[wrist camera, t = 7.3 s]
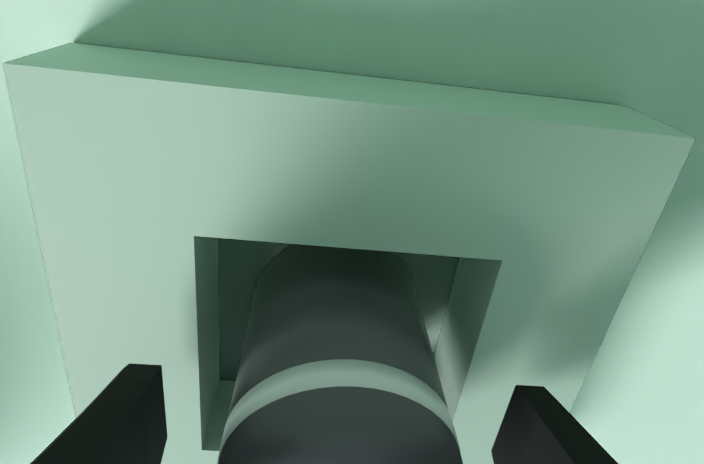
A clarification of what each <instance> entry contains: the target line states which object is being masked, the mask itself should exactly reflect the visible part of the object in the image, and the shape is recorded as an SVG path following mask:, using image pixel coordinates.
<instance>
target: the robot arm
mask: <svg viewBox="0 0 704 464" xmlns="http://www.w3.org/2000/svg"><path fill="white" fill-rule="evenodd" d="M166 441H167V425H166V413H165V401H164V389H163V377H162V365H149V364H131V363H129V364H128V365H127V366H125V367H124V368H123V369H122V370H121V371H120V372H119V373H118V374H117V376H116V377H115V378H114V379H113V380H112V381H111V382H110V383H109V384H108V385H107V386H106V387H105V388H104V390H103V391H102V392H101V393H100V394H99V395H98V396H97V397H96V398H95V399H94V400H93V401H92V402H91V403H90V404H89V405H88V406H87V408H86V409H85V410H84V411H83V412H82V413H81V414H80V415H79V416H78V417H77V418H76V419H75V420H74V421H73V422H72V423H71V424H70V425H69V426H68V427H67V428H66V429H65V430H64V431H63V432H62V433H61V434H60V435H59V436H58V437H57V438H56V439H55V440H54V441H53V442H52V443H51V444H50V445H49V446H48V447H47V448H46V449H45V450H44V451H43V452H42V453H41V454H40V455H39V456H38V457H37V458H36V459H35V460H34V461H33V462H31V463H30V464H161V461H162V457H163V453H164V449H165V445H166ZM491 452H492V457H493V462H494V464H618V463H617V462H616V461H615V460H614V459H613V458H612V457H611V456H610V455H609V454H608V453H607V452H606V451H605V450H604V449H603V448H602V446H601V445H600V444H599V443H598V442H597V441H596V440H595V439H594V438H593V437H592V436H591V435H590V434H589V433H588V432H587V431H586V430H585V429H584V428H583V427H582V426H581V424H580V423H579V422H578V421H577V420H576V419H575V418H574V417H573V416H572V415H571V414H570V413H569V412H568V411H567V410H566V409H565V408H564V407H563V406H562V405H561V403H560V402H559V401H558V400H557V399H556V398H555V397H554V396H553V395H552V394H551V393H550V392H549V391H548V390H547V389H546V388H545V387H544V386H527V385H516V386H515V388H514V391H513V394H512V396H511V399H510V402H509V404H508V407H507V410H506V412H505V415H504V418H503V420H502V423H501V426H500V428H499V431H498V434H497V436H496V439H495V442H494V444H493V447H492V450H491Z"/></svg>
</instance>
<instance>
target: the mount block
mask: <svg viewBox="0 0 704 464" xmlns="http://www.w3.org/2000/svg"><path fill="white" fill-rule="evenodd" d="M2 64H3V69H4V74H5V79H6V83H7V88H8V93H9V98H10V103H11V108H12V112H13V117H14V122H15V127H16V132H17V136H18V141H19V146H20V151H21V156H22V161H23V165H24V170H25V175H26V180H27V185H28V190H29V194H30V199H31V204H32V209H33V214H34V219H35V223H36V228H37V233H38V238H39V243H40V247H41V252H42V257H43V262H44V267H45V272H46V276H47V281H48V286H49V291H50V296H51V301H52V305H53V310H54V315H55V320H56V325H57V330H58V334H59V339H60V344H61V349H62V354H63V358H64V363H65V368H66V373H67V378H68V383H69V387H70V392H71V397H72V402H73V407H74V412H75V416H76V418H77V417H78V416H79V415H80V414H81V413H82V412H83V411H84V410H85V409H86V408H87V406H88V405H89V404H90V403H91V402H92V401H93V400H94V399H95V398H96V397H97V396H98V395H99V394H100V393H101V392H102V391H103V390H104V388H105V387H106V386H107V385H108V384H109V383H110V382H111V381H112V380H113V379H114V378H115V377H116V376H117V374H118V373H119V372H120V371H121V370H122V369H123V368H124V367H125V366H127V365H128V364H129V363H131V364H149V365H162V377H163V389H164V401H165V413H166V425H167V441H166V445H165V449H164V453H163V457H162V461H161V464H217V461H218V455H219V451H220V446H221V442H222V437H223V432H224V428H225V425H226V422H227V419H228V414H229V410H230V405H231V401H232V396H233V391H234V387H235V382H236V381H231V380H220V351H219V257H218V238H225V239H238V240H250V241H263V242H276V243H288V244H301V245H314V246H326V247H339V248H351V249H364V250H377V251H389V252H402V253H414V254H427V255H440V256H452V257H460V258H459V262H458V266H457V269H456V273H455V277H454V281H453V285H452V289H451V293H450V296H449V300H448V304H447V308H446V312H445V316H444V320H443V324H442V327H441V331H440V335H439V339H438V343H437V347H436V351H435V354H434V360H435V363H436V367H437V371H438V374H439V378H440V381H441V385H442V389H443V392H444V396H445V400H446V403H447V407H448V410H449V413H450V415H451V418H452V421H453V425H454V428H455V432H456V435H457V439H458V443H459V446H460V451H461V458H462V461H463V464H494V462H493V457H492V452H491V450H492V447H493V444H494V442H495V439H496V436H497V434H498V431H499V428H500V426H501V423H502V420H503V418H504V415H505V412H506V410H507V407H508V404H509V402H510V399H511V396H512V394H513V391H514V388H515V386H516V385H527V386H544V387H545V388H546V389H547V390H548V391H549V392H550V393H551V394H552V395H553V396H554V397H555V398H556V399H557V400H558V401H559V402H560V403H561V405H562V406H563V407H564V408H565V409H566V410H567V411H568V412H570V410H571V408H572V406H573V403H574V401H575V399H576V397H577V395H578V393H579V390H580V388H581V386H582V384H583V382H584V380H585V377H586V375H587V373H588V371H589V369H590V367H591V364H592V362H593V360H594V358H595V356H596V354H597V351H598V349H599V347H600V345H601V343H602V341H603V338H604V336H605V334H606V332H607V330H608V328H609V325H610V323H611V321H612V319H613V317H614V315H615V312H616V310H617V308H618V306H619V304H620V302H621V299H622V297H623V295H624V293H625V291H626V289H627V286H628V284H629V282H630V280H631V278H632V276H633V273H634V271H635V269H636V267H637V265H638V263H639V260H640V258H641V256H642V254H643V252H644V250H645V247H646V245H647V243H648V241H649V239H650V237H651V234H652V232H653V230H654V228H655V226H656V224H657V221H658V219H659V217H660V215H661V213H662V211H663V208H664V206H665V204H666V202H667V200H668V198H669V195H670V193H671V191H672V189H673V187H674V185H675V182H676V180H677V178H678V176H679V174H680V171H681V169H682V167H683V165H684V163H685V161H686V158H687V156H688V154H689V152H690V150H691V148H692V145H693V143H694V141H695V139H696V138H694V137H692V136H689V135H687V134H685V133H683V132H681V131H679V130H677V129H674V128H672V127H670V126H668V125H666V124H664V123H662V122H659V121H657V120H655V119H653V118H651V117H649V116H647V115H644V114H642V113H640V112H638V111H636V110H634V109H632V108H629V107H627V106H623V105H615V104H606V103H597V102H588V101H579V100H571V99H562V98H553V97H544V96H535V95H527V94H518V93H509V92H500V91H492V90H483V89H474V88H465V87H456V86H448V85H439V84H430V83H421V82H413V81H404V80H395V79H386V78H377V77H369V76H360V75H351V74H342V73H333V72H325V71H316V70H307V69H298V68H290V67H281V66H272V65H263V64H254V63H246V62H237V61H228V60H219V59H210V58H202V57H193V56H184V55H175V54H167V53H158V52H149V51H140V50H131V49H123V48H114V47H105V46H96V45H88V44H79V43H68V44H64V45H61V46H58V47H54V48H51V49H48V50H44V51H41V52H38V53H34V54H31V55H28V56H24V57H21V58H18V59H14V60H11V61H8V62H5V63H2Z"/></svg>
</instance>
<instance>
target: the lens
mask: <svg viewBox="0 0 704 464" xmlns="http://www.w3.org/2000/svg"><path fill="white" fill-rule="evenodd" d="M217 464H463V461H462V458H461V451H460V446H459V443H458V439H457V435H456V432H455V428H454V425H453V421H452V418H451V415H450V413H449V410H448V407H447V403H446V400H445V396H444V392H443V389H442V385H441V381H440V378H439V374H438V371H437V367H436V363H435V360H434V356H433V352H432V349H431V345H430V341H429V338H428V334H427V331H426V327H425V323H424V320H423V316H422V312H421V309H420V305H419V301H418V298H417V294H416V291H415V287H414V284H413V281H412V278H411V276H410V274H409V272H408V270H407V268H406V267H405V266H404V264H403V263H402V262H401V261H400V260H399V259H398V258H397V257H396V256H395V255H394V254H393V253H392V252H389V251H377V250H364V249H351V248H339V247H326V246H314V245H301V244H293V245H291V246H289V247H288V248H286V249H284V250H283V251H281V252H280V253H279V254H278V255H277V256H275V257H274V258H273V259H272V260H271V262H270V263H269V264H268V265H267V266H266V268H265V269H264V271H263V272H262V274H261V276H260V278H259V280H258V283H257V286H256V290H255V294H254V299H253V304H252V308H251V313H250V317H249V322H248V327H247V331H246V336H245V340H244V345H243V350H242V354H241V359H240V364H239V368H238V373H237V377H236V382H235V387H234V391H233V396H232V401H231V405H230V410H229V414H228V419H227V422H226V425H225V428H224V432H223V437H222V442H221V446H220V451H219V455H218V461H217Z"/></svg>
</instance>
